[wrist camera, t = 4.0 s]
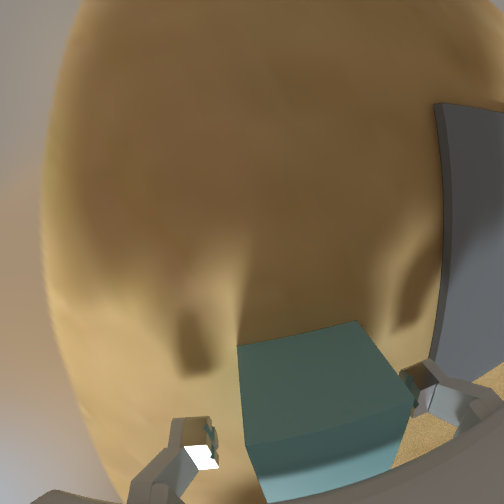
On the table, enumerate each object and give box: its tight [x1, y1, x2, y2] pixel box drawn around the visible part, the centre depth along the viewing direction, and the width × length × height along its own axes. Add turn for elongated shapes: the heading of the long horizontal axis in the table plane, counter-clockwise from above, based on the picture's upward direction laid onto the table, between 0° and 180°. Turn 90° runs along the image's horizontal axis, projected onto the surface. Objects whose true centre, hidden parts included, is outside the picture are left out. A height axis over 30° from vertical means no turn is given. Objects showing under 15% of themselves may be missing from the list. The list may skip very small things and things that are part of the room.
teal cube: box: [237, 321, 415, 503], centre depth 10 cm, size 5×5×5 cm
